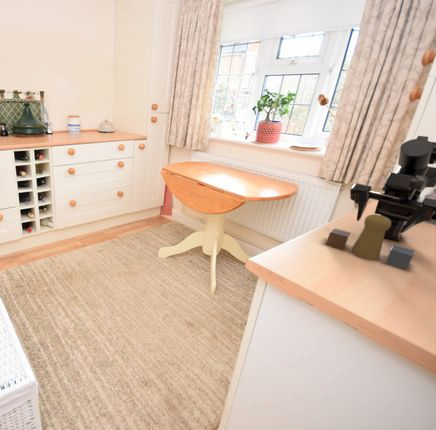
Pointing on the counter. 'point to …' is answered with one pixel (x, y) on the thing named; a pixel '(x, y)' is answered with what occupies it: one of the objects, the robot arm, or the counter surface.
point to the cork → (371, 237)
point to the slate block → (399, 257)
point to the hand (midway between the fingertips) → (378, 226)
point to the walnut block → (337, 238)
